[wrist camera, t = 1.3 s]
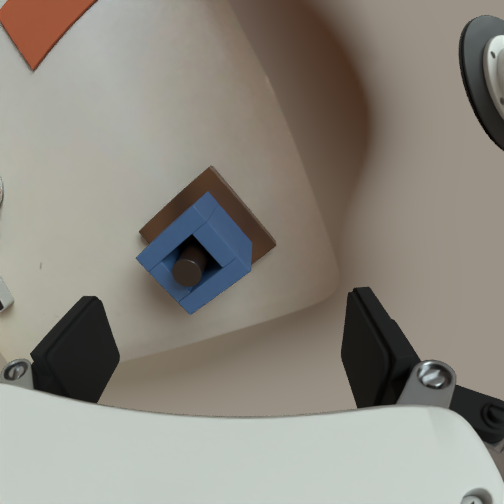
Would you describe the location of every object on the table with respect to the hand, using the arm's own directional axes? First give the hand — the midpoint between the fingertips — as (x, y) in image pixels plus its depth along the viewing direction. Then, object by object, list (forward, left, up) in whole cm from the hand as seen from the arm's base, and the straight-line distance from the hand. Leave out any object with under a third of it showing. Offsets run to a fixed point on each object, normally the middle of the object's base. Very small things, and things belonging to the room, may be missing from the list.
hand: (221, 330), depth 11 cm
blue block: (+4, -1, -16) cm, 17 cm away
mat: (-1, -36, -18) cm, 40 cm away
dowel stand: (+4, -1, -18) cm, 18 cm away
